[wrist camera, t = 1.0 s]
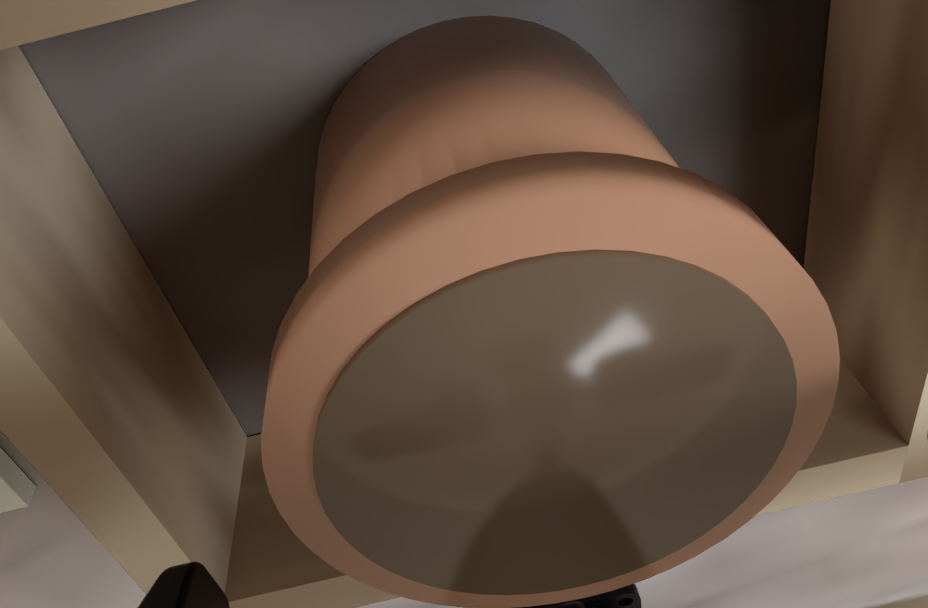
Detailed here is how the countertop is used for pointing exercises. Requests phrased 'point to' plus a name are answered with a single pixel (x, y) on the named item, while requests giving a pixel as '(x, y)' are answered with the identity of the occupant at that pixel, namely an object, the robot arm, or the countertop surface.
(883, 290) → the cold frame
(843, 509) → the countertop surface
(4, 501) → the sage tile
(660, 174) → the terracotta pot
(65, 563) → the countertop surface
